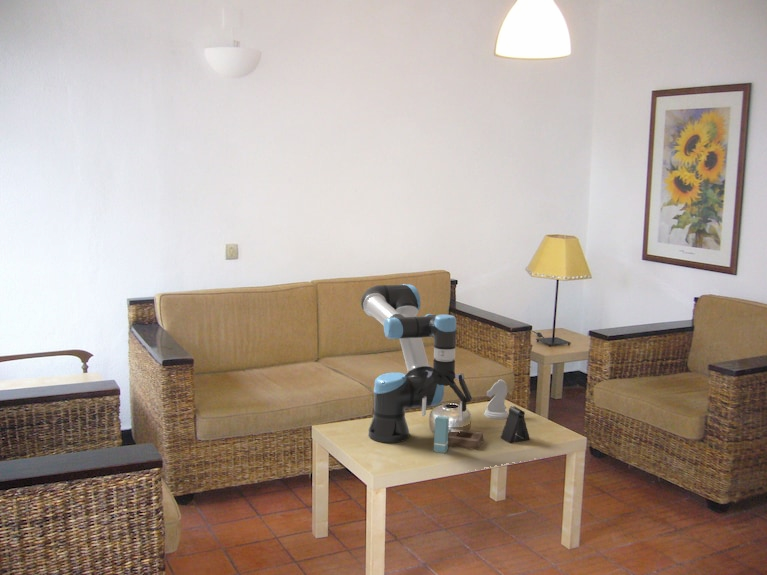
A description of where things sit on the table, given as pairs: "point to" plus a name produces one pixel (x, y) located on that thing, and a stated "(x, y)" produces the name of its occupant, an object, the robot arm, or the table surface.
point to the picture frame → (515, 427)
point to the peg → (441, 434)
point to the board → (465, 439)
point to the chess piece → (497, 401)
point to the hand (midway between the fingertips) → (442, 417)
